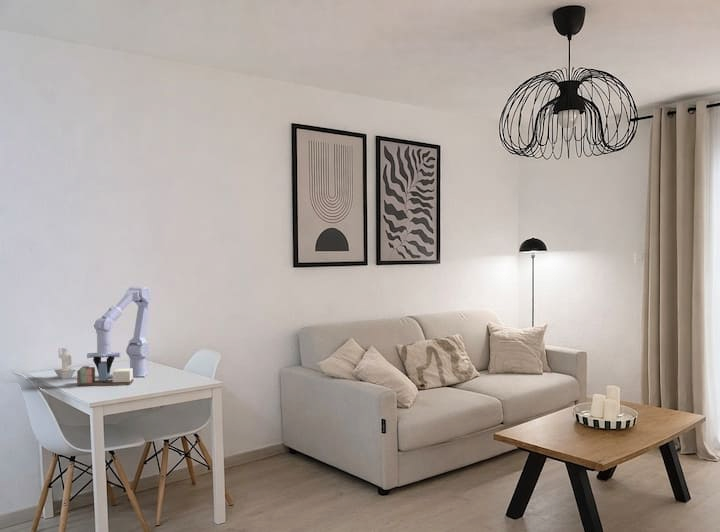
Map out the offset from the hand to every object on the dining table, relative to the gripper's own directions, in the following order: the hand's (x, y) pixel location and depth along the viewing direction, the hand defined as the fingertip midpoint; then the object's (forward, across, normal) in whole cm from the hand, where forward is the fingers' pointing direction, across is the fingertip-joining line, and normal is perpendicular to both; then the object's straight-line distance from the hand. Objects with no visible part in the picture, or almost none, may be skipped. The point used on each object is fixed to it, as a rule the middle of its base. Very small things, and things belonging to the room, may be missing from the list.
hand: (103, 372), depth 289 cm
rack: (+5, 0, 0) cm, 5 cm away
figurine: (+5, -22, +17) cm, 28 cm away
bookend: (+4, +8, 0) cm, 9 cm away
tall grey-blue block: (+3, 0, 0) cm, 3 cm away
